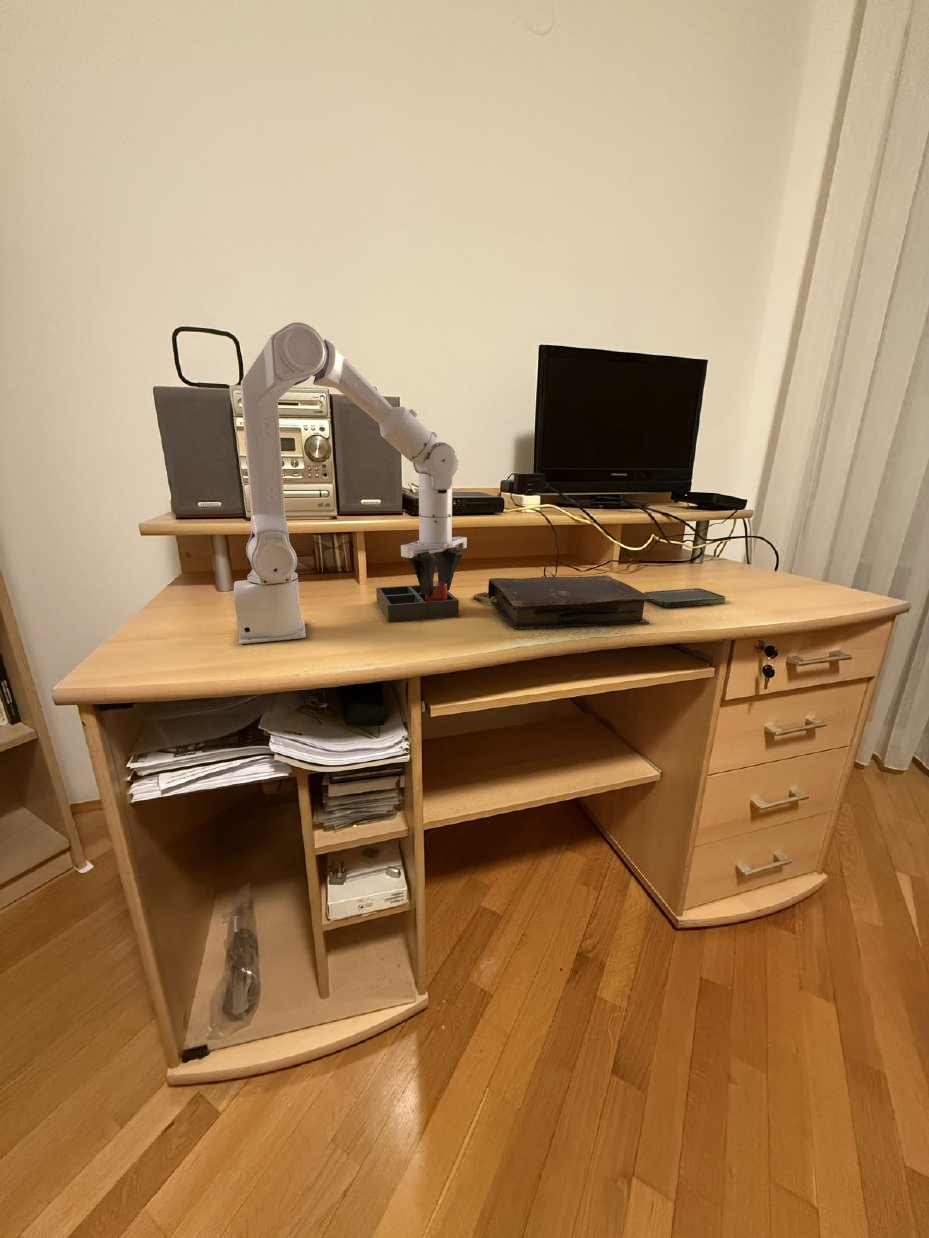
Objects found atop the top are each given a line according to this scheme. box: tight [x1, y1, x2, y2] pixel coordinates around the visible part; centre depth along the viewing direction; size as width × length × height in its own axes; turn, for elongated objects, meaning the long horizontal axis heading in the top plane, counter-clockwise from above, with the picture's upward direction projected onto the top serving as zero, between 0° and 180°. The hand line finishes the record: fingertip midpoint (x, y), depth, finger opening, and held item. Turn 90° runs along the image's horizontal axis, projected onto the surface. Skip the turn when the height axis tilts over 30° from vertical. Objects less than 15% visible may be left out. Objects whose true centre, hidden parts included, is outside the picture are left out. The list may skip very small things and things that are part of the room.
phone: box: [643, 587, 727, 608], centre depth 100 cm, size 8×1×15 cm
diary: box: [487, 574, 653, 629], centre depth 91 cm, size 19×25×5 cm
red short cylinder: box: [425, 580, 447, 601], centre depth 89 cm, size 4×4×3 cm
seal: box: [473, 591, 497, 608], centre depth 97 cm, size 9×5×15 cm
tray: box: [375, 584, 460, 623], centre depth 91 cm, size 13×13×3 cm
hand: (435, 591), depth 89 cm, fingers closed on red short cylinder, 4 cm apart
